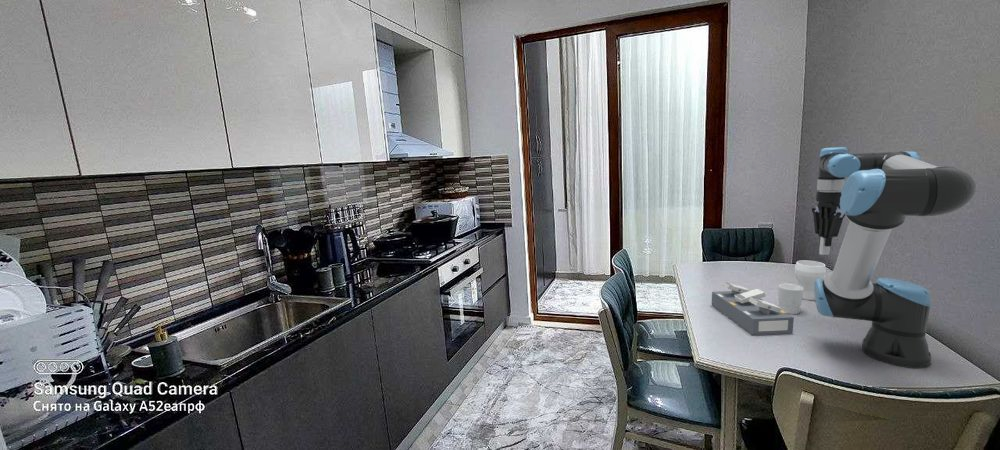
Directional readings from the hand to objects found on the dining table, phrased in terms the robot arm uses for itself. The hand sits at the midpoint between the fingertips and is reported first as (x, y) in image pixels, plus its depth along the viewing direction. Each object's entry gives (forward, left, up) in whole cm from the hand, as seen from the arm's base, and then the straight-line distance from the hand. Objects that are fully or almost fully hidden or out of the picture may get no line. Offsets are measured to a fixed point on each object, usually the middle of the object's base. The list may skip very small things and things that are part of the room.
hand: (824, 254), depth 147 cm
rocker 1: (+10, +26, -15) cm, 32 cm away
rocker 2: (+1, +26, -15) cm, 30 cm away
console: (+1, +26, -24) cm, 36 cm away
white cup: (+6, +7, -25) cm, 26 cm away
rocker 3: (-8, +26, -15) cm, 31 cm away
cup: (+19, -10, -25) cm, 33 cm away
